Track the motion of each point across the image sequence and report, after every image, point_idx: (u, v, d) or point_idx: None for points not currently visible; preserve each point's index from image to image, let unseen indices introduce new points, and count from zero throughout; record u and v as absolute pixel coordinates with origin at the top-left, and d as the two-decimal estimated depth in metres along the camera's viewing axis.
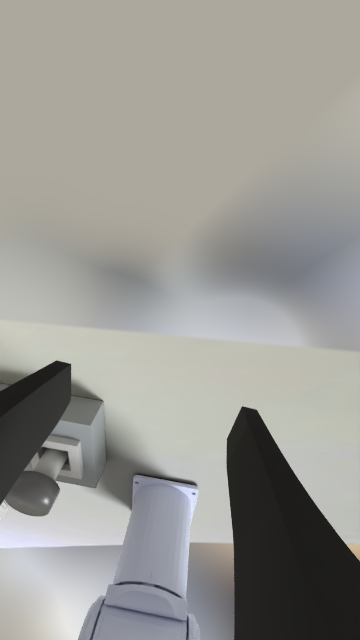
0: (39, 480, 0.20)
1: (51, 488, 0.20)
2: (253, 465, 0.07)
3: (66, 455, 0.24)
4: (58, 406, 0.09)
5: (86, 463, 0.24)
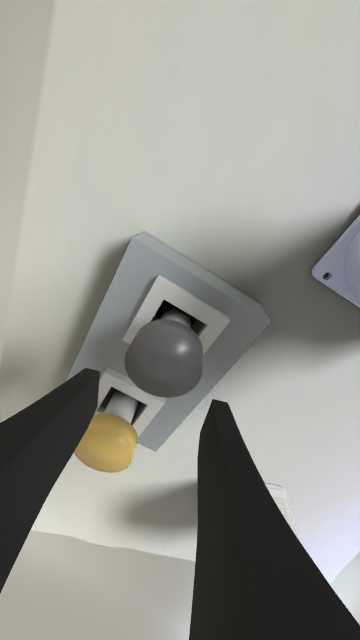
0: (142, 329, 0.12)
1: (165, 324, 0.12)
2: (216, 456, 0.07)
3: (180, 314, 0.15)
4: (88, 413, 0.09)
5: (209, 298, 0.15)
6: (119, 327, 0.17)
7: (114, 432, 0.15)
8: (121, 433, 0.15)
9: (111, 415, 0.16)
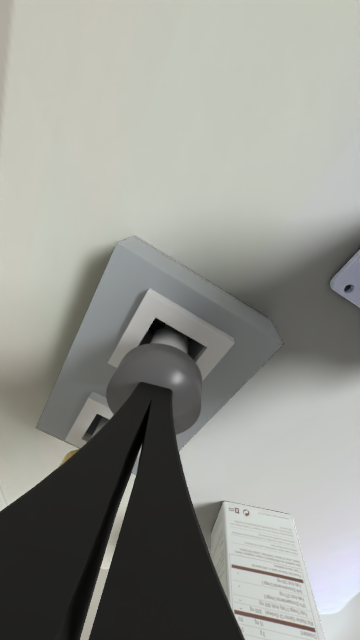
0: (128, 356, 0.10)
1: (155, 350, 0.10)
2: (144, 438, 0.07)
3: (175, 332, 0.13)
4: (145, 428, 0.09)
5: (209, 316, 0.13)
6: (104, 347, 0.14)
7: None
8: None
9: None
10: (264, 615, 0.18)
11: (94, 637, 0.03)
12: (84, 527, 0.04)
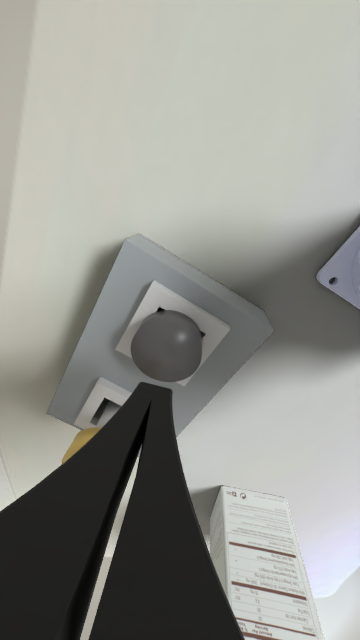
0: (147, 319, 0.14)
1: (167, 314, 0.13)
2: (144, 438, 0.07)
3: None
4: (145, 428, 0.09)
5: (208, 305, 0.14)
6: (111, 335, 0.16)
7: None
8: None
9: None
10: (259, 585, 0.19)
11: (94, 638, 0.03)
12: (84, 527, 0.04)
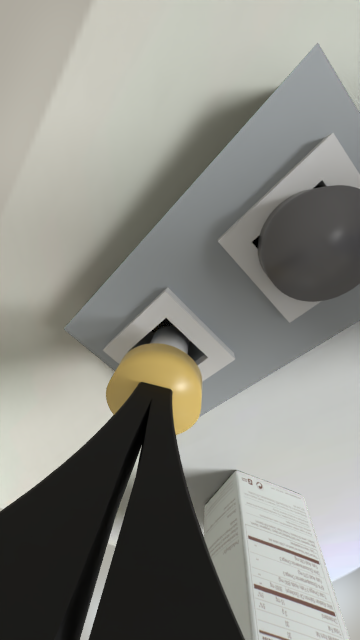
0: (303, 191, 0.09)
1: None
2: (144, 438, 0.07)
3: None
4: (145, 428, 0.09)
5: None
6: (214, 221, 0.10)
7: (186, 373, 0.09)
8: (194, 377, 0.10)
9: (177, 349, 0.10)
10: (284, 593, 0.16)
11: (94, 638, 0.03)
12: (84, 527, 0.04)
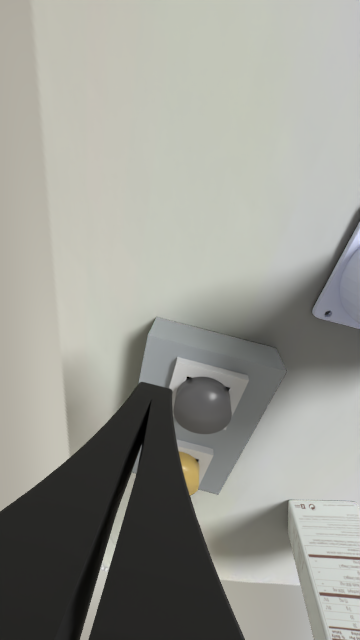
0: (180, 389, 0.17)
1: (195, 382, 0.16)
2: (144, 438, 0.07)
3: None
4: (145, 428, 0.09)
5: (225, 364, 0.17)
6: None
7: None
8: (185, 464, 0.20)
9: None
10: (347, 593, 0.21)
11: (94, 638, 0.03)
12: (84, 527, 0.04)
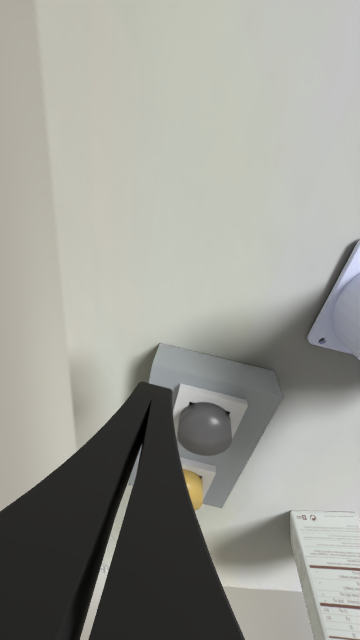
0: (183, 414, 0.18)
1: (197, 408, 0.18)
2: (144, 438, 0.07)
3: None
4: (145, 428, 0.09)
5: (225, 390, 0.18)
6: None
7: None
8: (190, 482, 0.21)
9: None
10: (346, 604, 0.21)
11: (94, 637, 0.03)
12: (84, 527, 0.04)
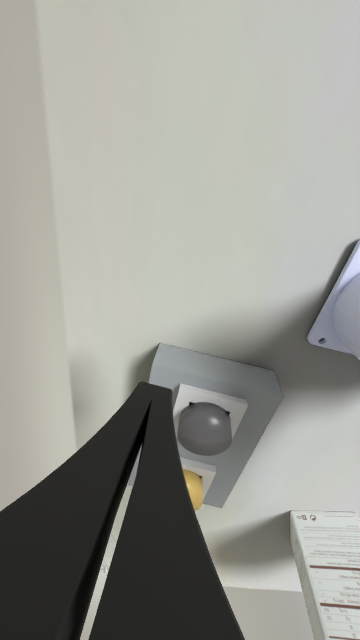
0: (183, 414, 0.18)
1: (197, 408, 0.18)
2: (144, 438, 0.07)
3: None
4: (145, 428, 0.09)
5: (225, 390, 0.18)
6: None
7: None
8: (190, 482, 0.21)
9: None
10: (347, 604, 0.21)
11: (94, 637, 0.03)
12: (84, 527, 0.04)
